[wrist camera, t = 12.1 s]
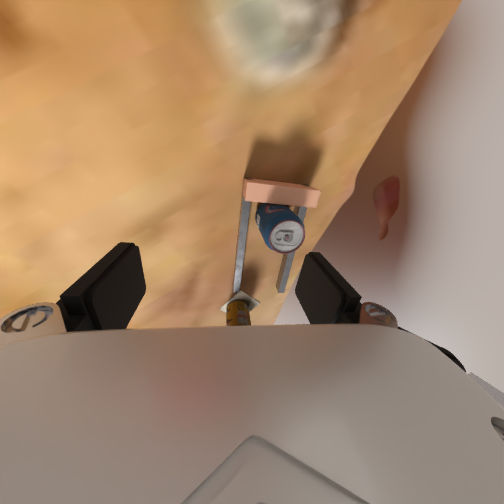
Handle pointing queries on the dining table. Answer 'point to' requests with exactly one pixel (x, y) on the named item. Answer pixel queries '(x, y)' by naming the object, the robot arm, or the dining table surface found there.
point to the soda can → (280, 227)
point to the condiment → (239, 309)
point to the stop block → (280, 193)
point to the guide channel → (241, 242)
